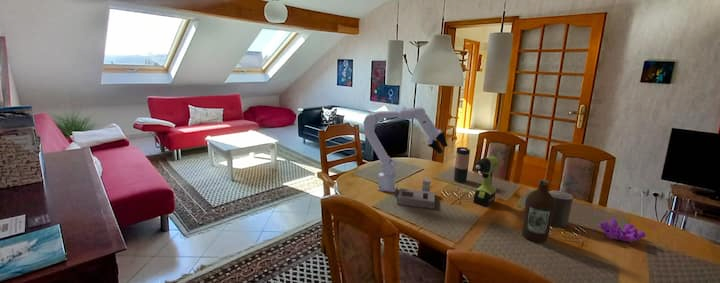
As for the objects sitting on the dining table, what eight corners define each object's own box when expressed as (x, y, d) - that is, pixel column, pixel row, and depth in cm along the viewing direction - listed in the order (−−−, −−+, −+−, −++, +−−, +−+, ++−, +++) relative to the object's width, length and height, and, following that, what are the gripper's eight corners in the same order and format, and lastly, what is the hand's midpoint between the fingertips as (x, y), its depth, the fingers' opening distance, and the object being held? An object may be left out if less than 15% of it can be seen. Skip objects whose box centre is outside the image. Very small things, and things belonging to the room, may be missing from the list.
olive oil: (520, 227, 140) (529, 174, 133) (548, 234, 135) (559, 179, 128) (519, 239, 131) (528, 182, 124) (549, 246, 126) (560, 188, 119)
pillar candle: (555, 229, 139) (561, 197, 135) (537, 218, 148) (543, 188, 144) (572, 226, 142) (579, 195, 138) (554, 216, 151) (560, 186, 147)
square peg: (421, 194, 171) (422, 180, 169) (422, 191, 175) (423, 178, 173) (429, 195, 170) (430, 181, 168) (429, 192, 174) (430, 179, 172)
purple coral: (596, 238, 139) (599, 217, 141) (641, 250, 131) (643, 227, 133) (600, 233, 130) (603, 211, 133) (648, 245, 122) (651, 221, 124)
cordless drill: (477, 214, 151) (484, 164, 144) (463, 209, 155) (469, 161, 149) (496, 199, 167) (502, 154, 161) (483, 195, 172) (488, 151, 165)
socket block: (397, 204, 160) (397, 197, 159) (399, 194, 171) (400, 188, 170) (433, 208, 156) (434, 202, 155) (434, 198, 167) (434, 192, 166)
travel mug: (452, 181, 191) (455, 149, 185) (454, 177, 197) (458, 146, 192) (465, 184, 187) (469, 151, 182) (467, 179, 194) (471, 148, 188)
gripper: (430, 130, 156) (444, 153, 157) (440, 119, 167) (454, 140, 168) (419, 136, 161) (433, 158, 162) (429, 124, 172) (443, 145, 173)
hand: (443, 149), depth 165 cm, fingers open, 7 cm apart
